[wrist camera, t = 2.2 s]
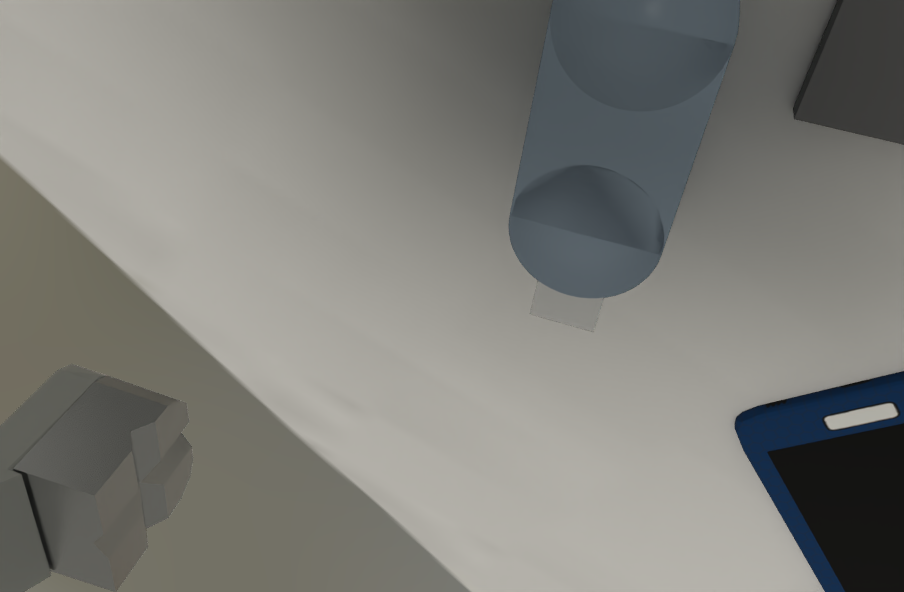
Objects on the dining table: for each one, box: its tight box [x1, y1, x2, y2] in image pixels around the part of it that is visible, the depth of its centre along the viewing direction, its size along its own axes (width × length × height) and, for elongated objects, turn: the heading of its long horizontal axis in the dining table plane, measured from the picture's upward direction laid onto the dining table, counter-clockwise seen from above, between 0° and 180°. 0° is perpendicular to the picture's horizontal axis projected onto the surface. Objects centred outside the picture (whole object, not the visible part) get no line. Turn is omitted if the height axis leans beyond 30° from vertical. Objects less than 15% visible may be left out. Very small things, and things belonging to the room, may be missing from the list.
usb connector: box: [509, 0, 740, 332], centre depth 19 cm, size 14×4×4 cm, turn 172°
